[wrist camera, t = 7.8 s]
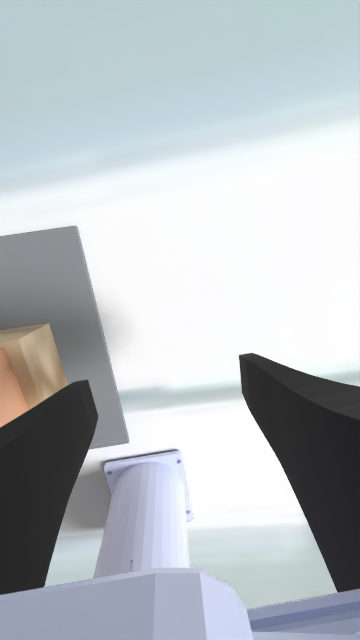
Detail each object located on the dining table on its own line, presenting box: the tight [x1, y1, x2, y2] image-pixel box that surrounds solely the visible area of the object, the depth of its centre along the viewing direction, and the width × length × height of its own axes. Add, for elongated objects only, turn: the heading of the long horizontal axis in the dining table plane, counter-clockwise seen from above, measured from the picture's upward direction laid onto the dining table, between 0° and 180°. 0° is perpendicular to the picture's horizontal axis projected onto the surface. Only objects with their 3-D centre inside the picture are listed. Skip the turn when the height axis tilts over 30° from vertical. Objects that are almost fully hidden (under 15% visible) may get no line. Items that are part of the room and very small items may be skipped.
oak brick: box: [0, 323, 68, 410], centre depth 18 cm, size 8×6×4 cm
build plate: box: [0, 226, 129, 449], centre depth 20 cm, size 20×16×1 cm
